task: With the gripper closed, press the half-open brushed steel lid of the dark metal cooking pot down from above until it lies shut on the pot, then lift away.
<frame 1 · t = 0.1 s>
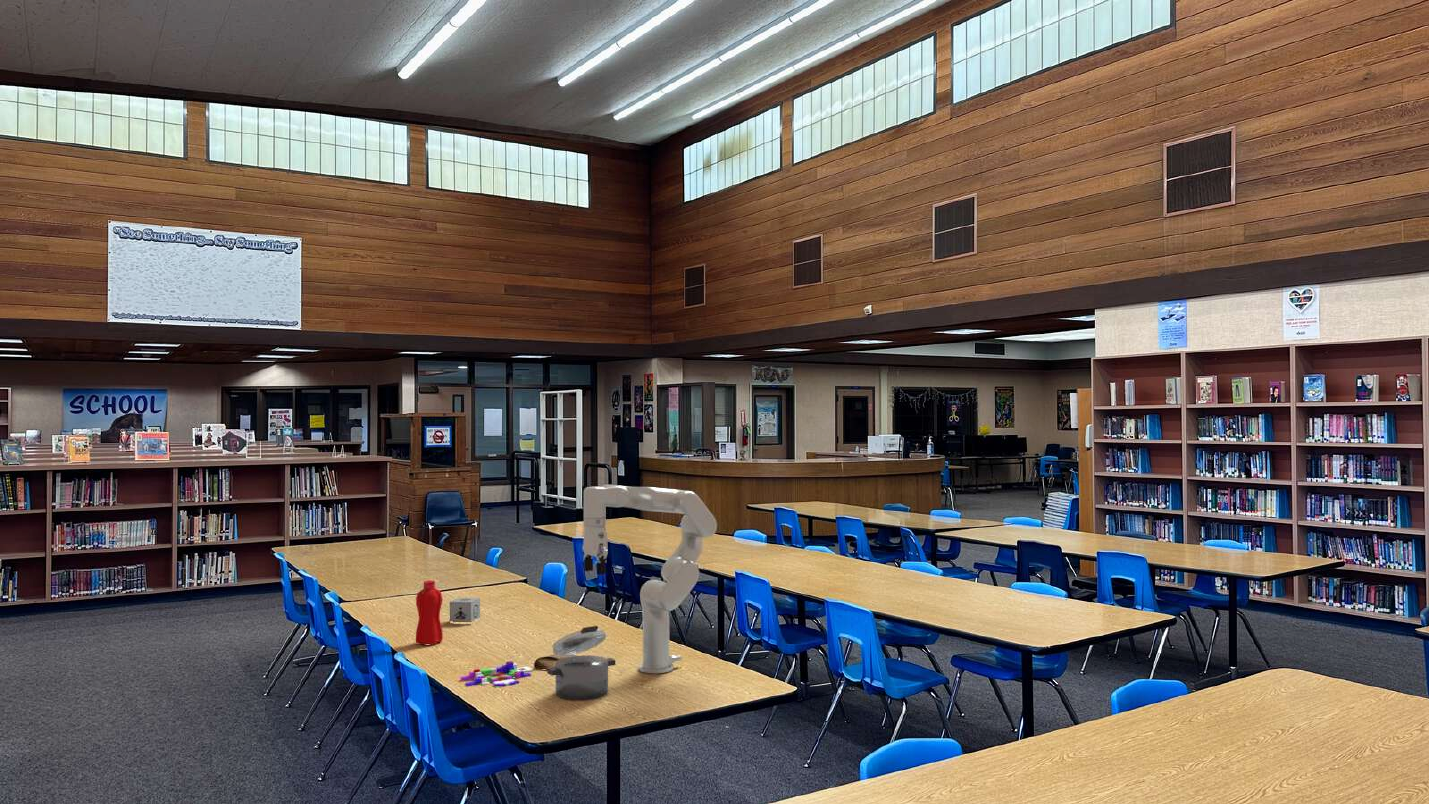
hand: (594, 572, 310), 37 cm above the table, tool pointing down, fingers open, 9 cm apart
pot: (582, 692, 294), on the table
lid: (579, 638, 296), point 17 cm above the table, hinge at 35.0°
sunglasses case: (559, 666, 330), on the table
building block set: (500, 680, 312), on the table
water bottle: (427, 644, 363), on the table
icon cube: (465, 622, 403), on the table
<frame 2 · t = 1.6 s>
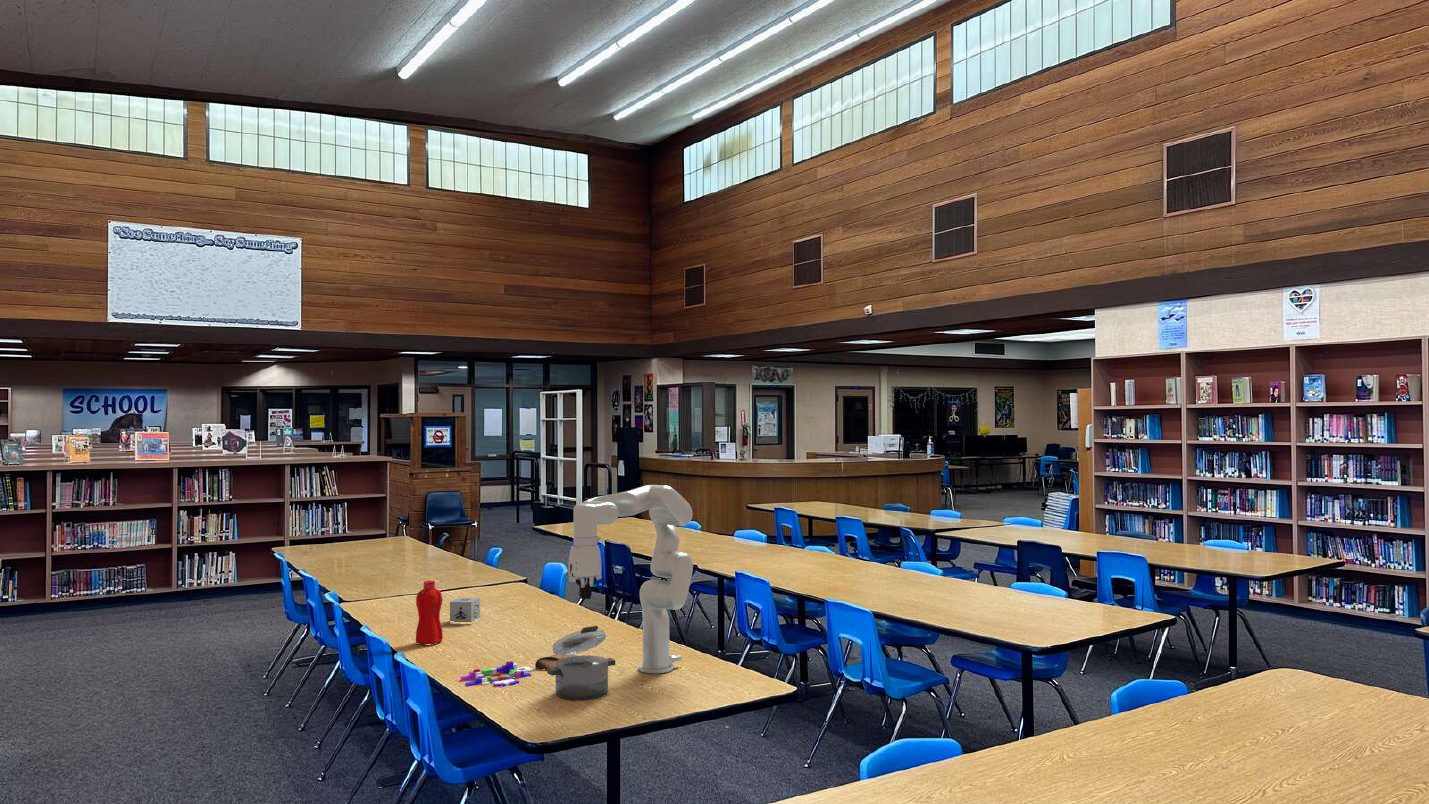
hand: (585, 598, 293), 31 cm above the table, tool pointing down, fingers closed
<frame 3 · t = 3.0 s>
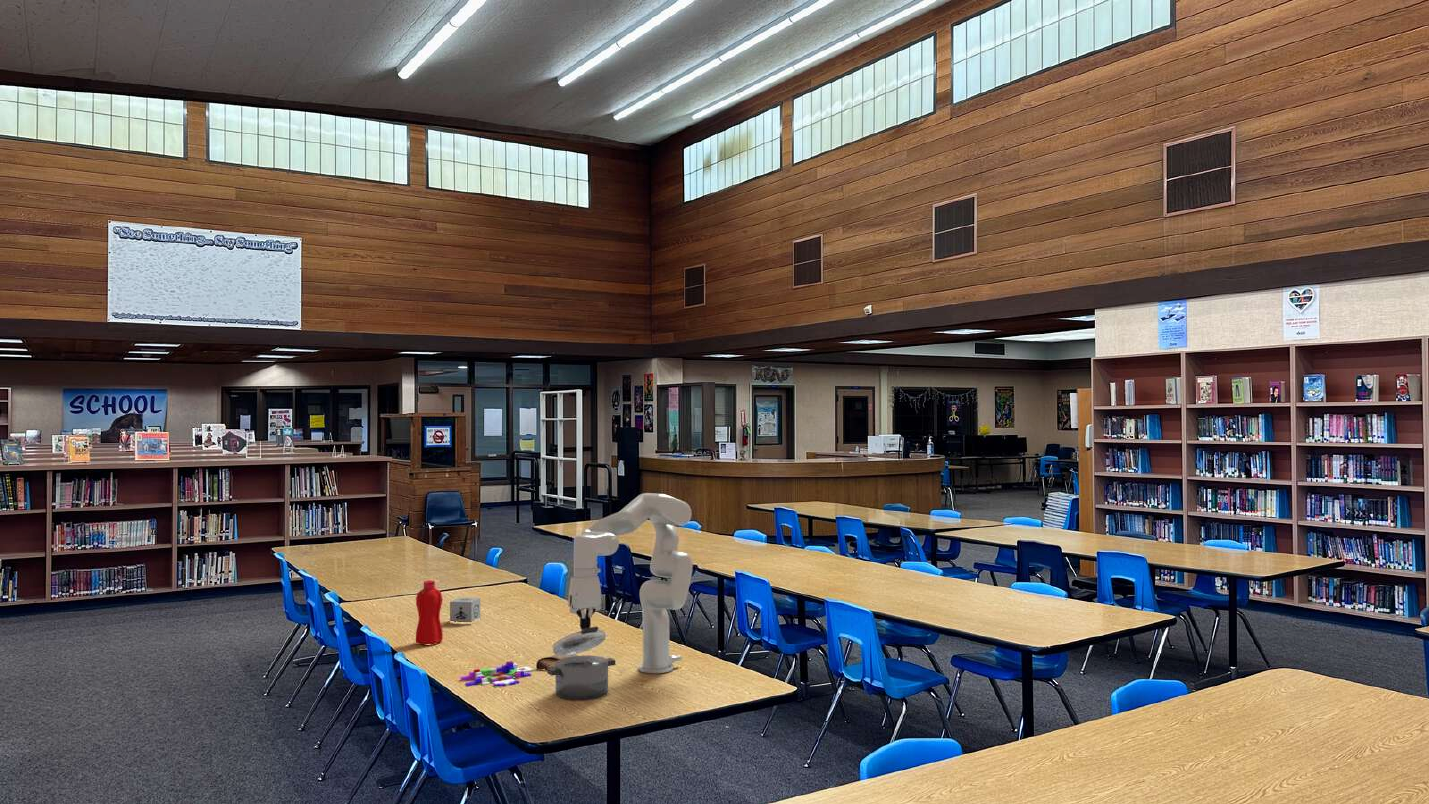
hand: (585, 629, 292), 21 cm above the table, tool pointing down, fingers closed
lid: (579, 639, 296), point 17 cm above the table, hinge at 34.2°, touching gripper
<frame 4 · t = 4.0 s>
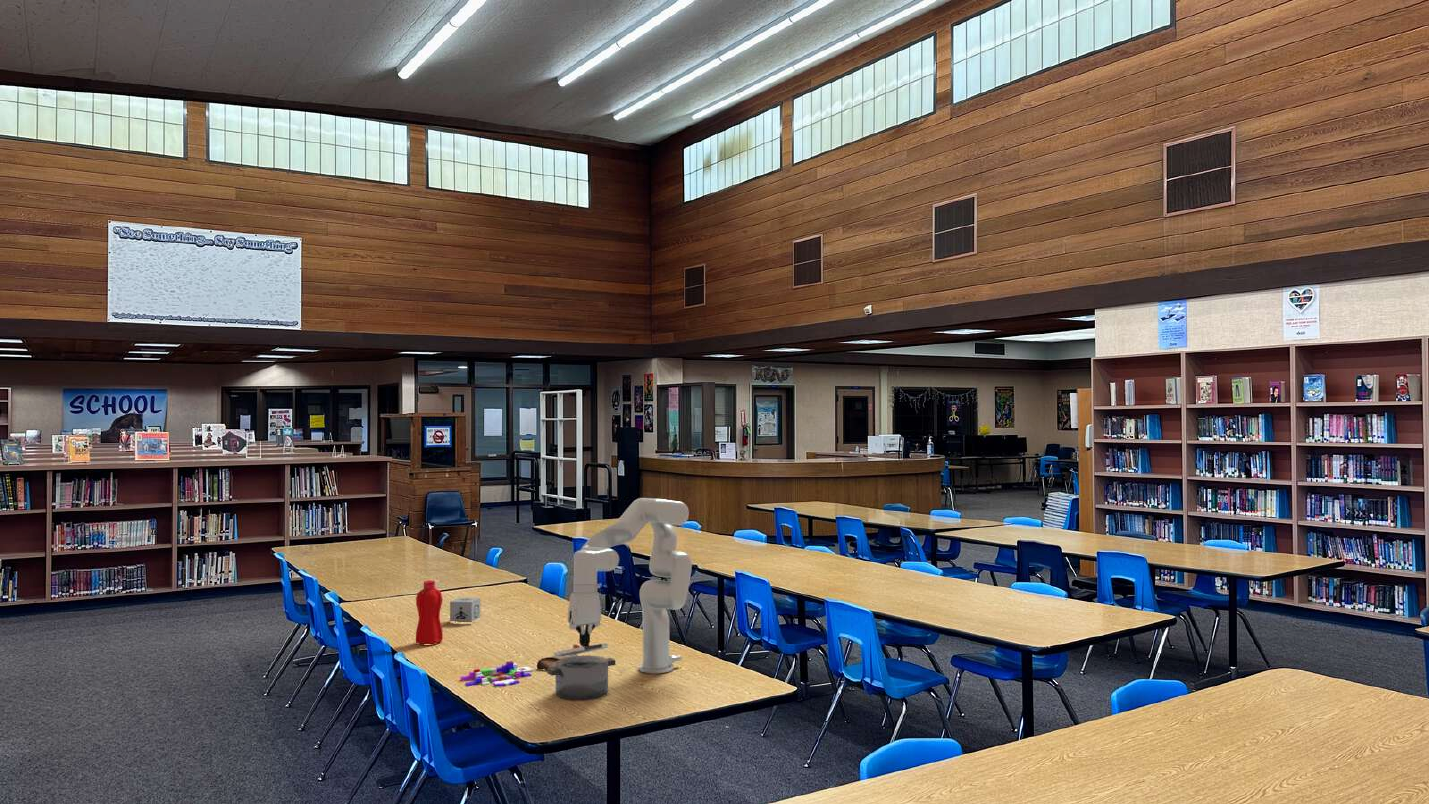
hand: (584, 645, 292), 16 cm above the table, tool pointing down, fingers closed
lid: (581, 647, 295), point 15 cm above the table, hinge at 17.4°, touching gripper
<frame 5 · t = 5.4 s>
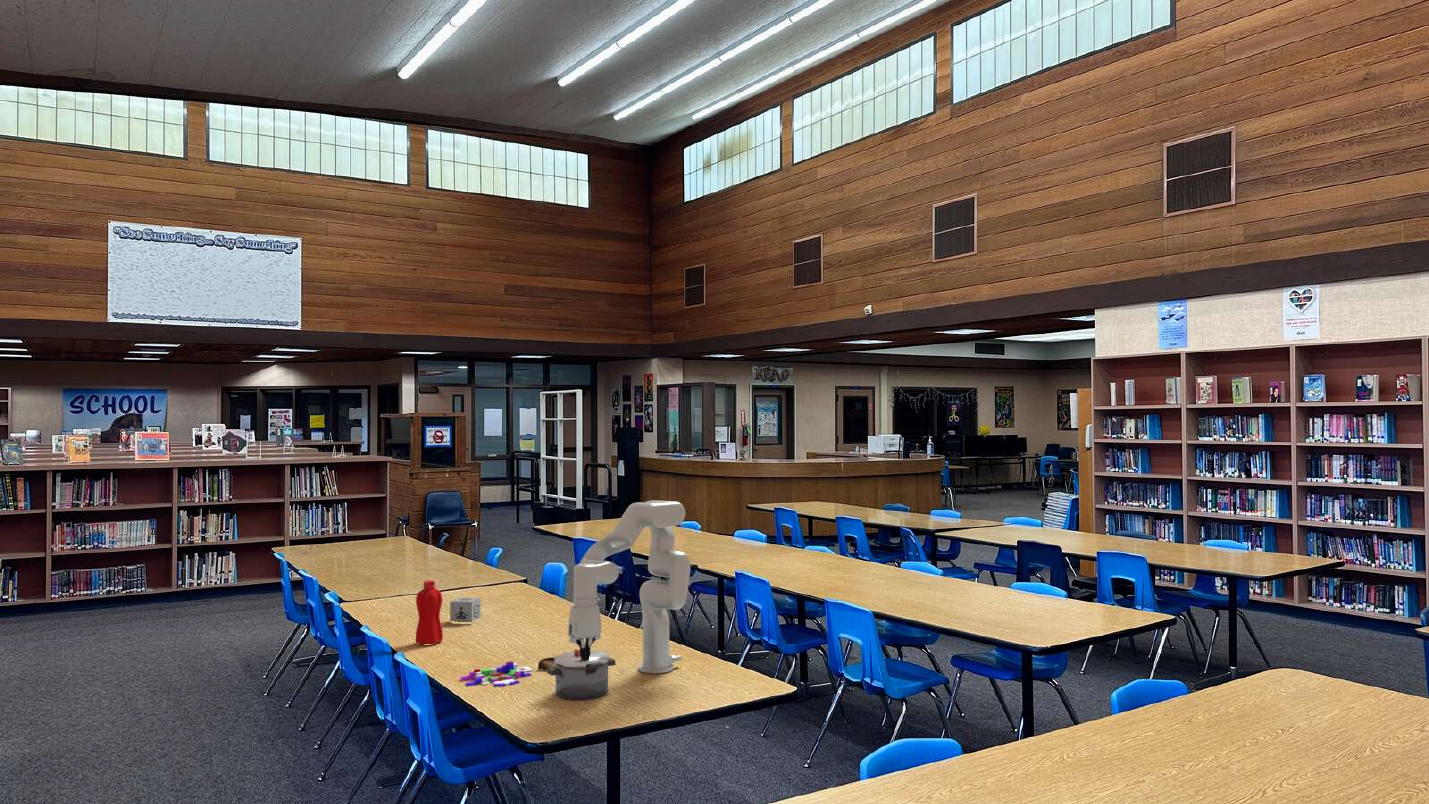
hand: (585, 659, 292), 12 cm above the table, tool pointing down, fingers closed
lid: (583, 657, 294), point 12 cm above the table, hinge at 0.0°, touching gripper
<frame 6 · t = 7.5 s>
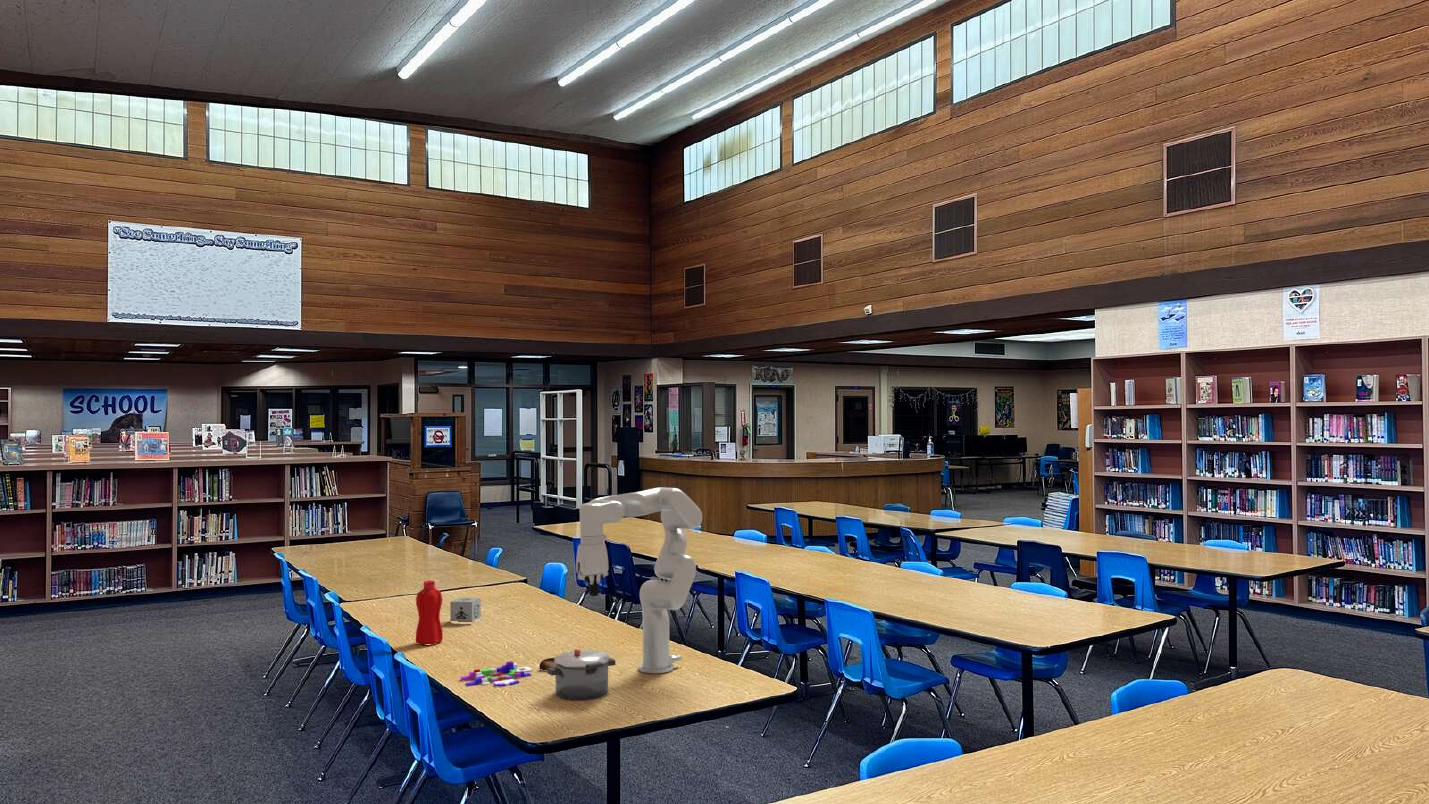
hand: (593, 595, 300), 31 cm above the table, tool pointing down, fingers closed
lid: (583, 657, 294), point 12 cm above the table, hinge at 0.0°
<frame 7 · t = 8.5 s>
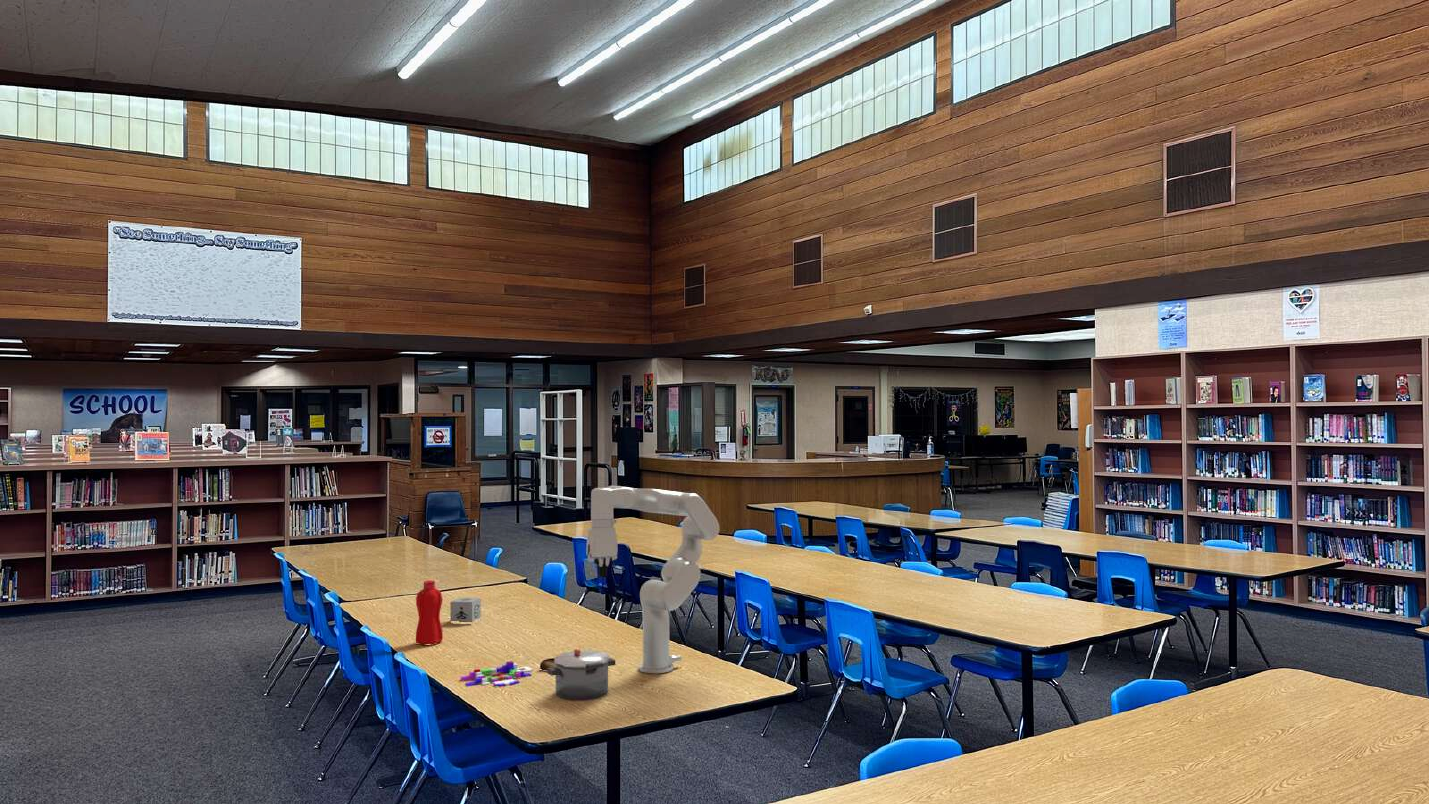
hand: (602, 577, 309), 35 cm above the table, tool pointing down, fingers closed
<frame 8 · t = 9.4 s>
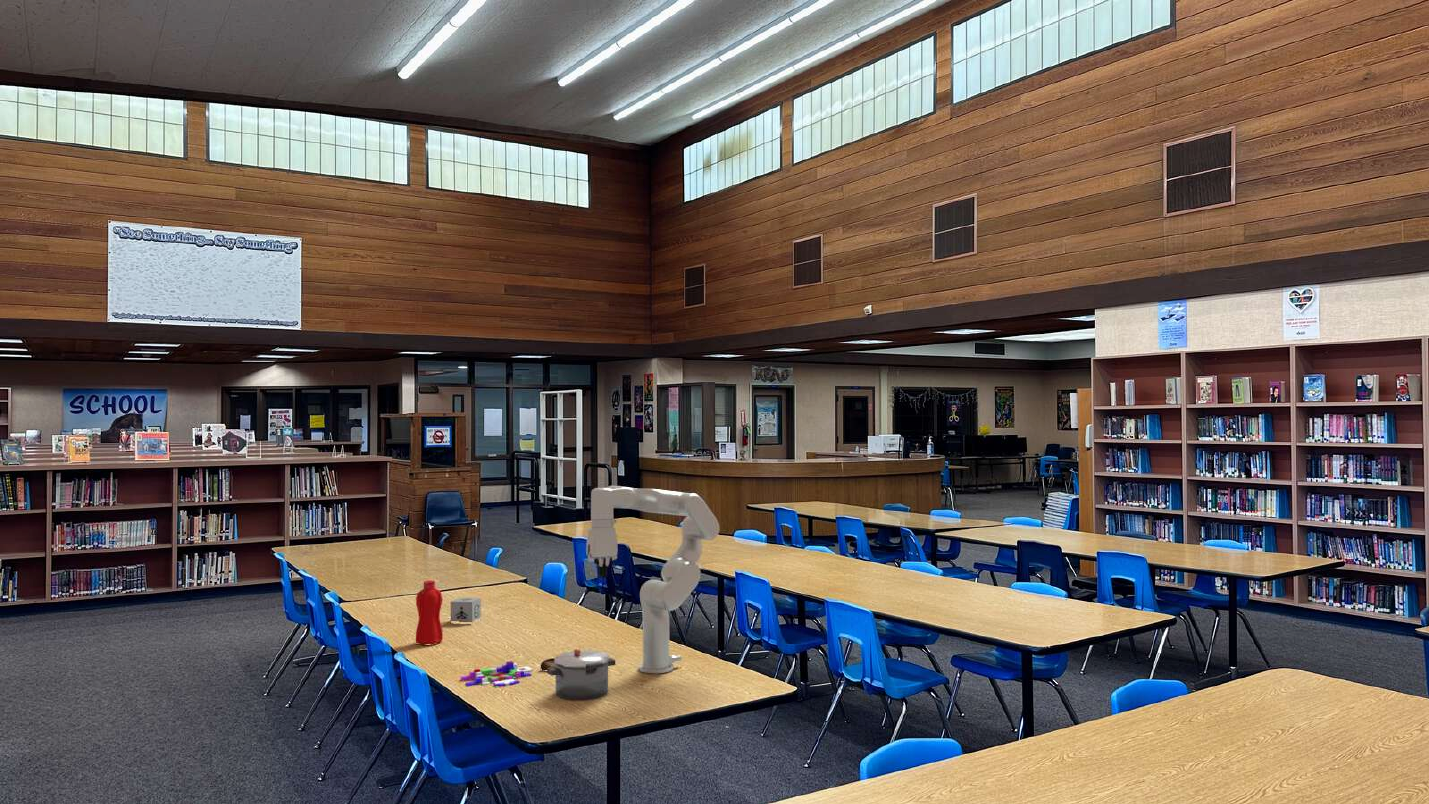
hand: (602, 577, 309), 35 cm above the table, tool pointing down, fingers closed
at the end: lid at +0° (first picture: +35°); the gripper is holding nothing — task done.
